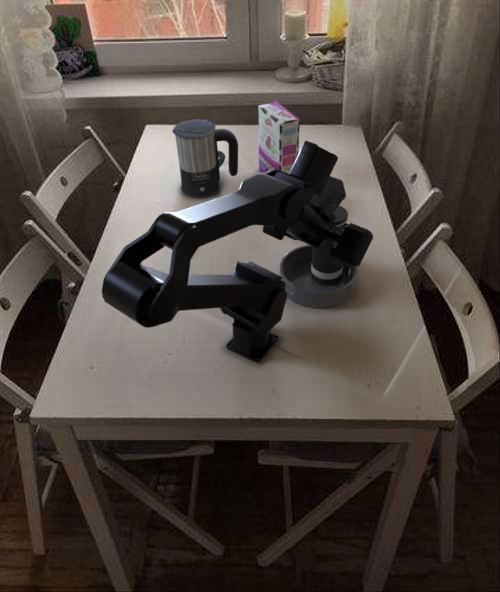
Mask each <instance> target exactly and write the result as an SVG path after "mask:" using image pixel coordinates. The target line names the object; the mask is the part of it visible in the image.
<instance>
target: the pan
mask: <svg viewBox="0 0 500 592" xmlns="http://www.w3.org/2000/svg"><path fill="white" fill-rule="evenodd" d="M312 253H313V246H311V245H309V244H305V245H301V246H298V247H295V248H293V249H291V250H290V251H287V252H286V253H285V255H284V256H283V257H282V258H281V260H280V263H279V276H281V277H282V279H281V280H282V281H284V282H285V283H286V287H285V291H286V292H287V299H289V300H290V301H291V302H293V303H294V304H297V305H300V306H302V307H305V308H310V309H329V308H334V307H338V306H341V305H343V304H344V303H346V302H347V301H348V300H350V299H351V298H352V297H353V295H354V294H355V293H356V289H357V284H358V275H359V266H357V267H353V266H350V265H348V264H346V263H344V262H343V269H342V276H341V280H340V281H339V282H338V283H336V284H334V285H330V286H325V285H320V284H318V283H316V282H315V281H313V279H312V277H311V266H312Z"/></svg>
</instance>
